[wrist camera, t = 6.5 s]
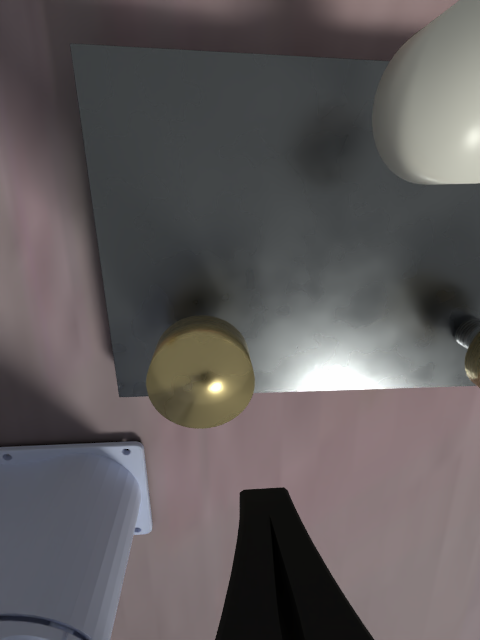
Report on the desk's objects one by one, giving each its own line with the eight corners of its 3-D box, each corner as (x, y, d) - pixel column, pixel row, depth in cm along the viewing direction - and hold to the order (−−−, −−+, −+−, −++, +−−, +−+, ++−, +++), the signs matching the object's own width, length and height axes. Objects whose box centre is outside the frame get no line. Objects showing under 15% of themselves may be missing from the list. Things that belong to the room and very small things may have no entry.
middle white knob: (335, 184, 12) (396, 181, 8) (351, 49, 11) (435, -35, 7) (438, 186, 12) (546, 185, 8) (467, 56, 11) (615, -21, 7)
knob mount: (128, 376, 19) (119, 397, 17) (89, 63, 14) (69, 43, 12) (495, 367, 21) (522, 384, 19) (592, 89, 15) (644, 75, 14)
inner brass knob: (165, 373, 17) (150, 430, 13) (159, 298, 15) (141, 336, 11) (243, 370, 17) (253, 426, 13) (245, 297, 16) (256, 334, 12)
